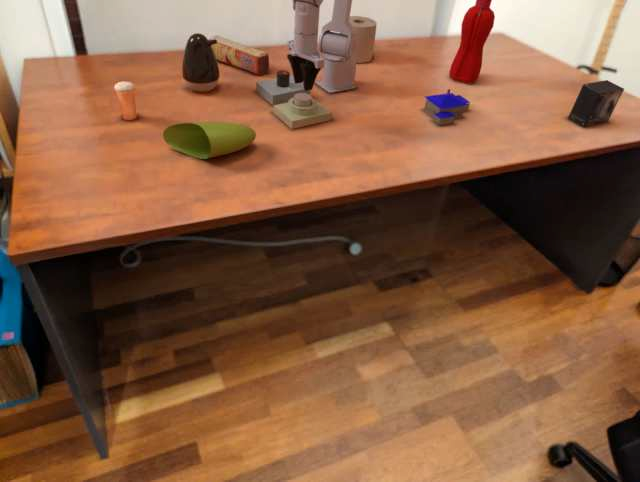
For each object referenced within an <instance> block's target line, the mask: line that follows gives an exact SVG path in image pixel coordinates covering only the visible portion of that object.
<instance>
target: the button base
mask: <svg viewBox="0 0 640 482" xmlns="http://www.w3.org/2000/svg"><path fill="white" fill-rule="evenodd" d="M272 106H273V107H272V109H273V110H272V111H273V112H272V113H273V114H274V115H275V116H276V117H277V118H278V119H280V120H281V121H282V122H283V123H284V124H286V125H287V126H288V128H290V129H291V130H293V129H298V128H303V127H305V126H306V127H307V126H312V125H315V124H319V123H324V122H328V121H331V119H332V112H331V111H330V110H329V109H327V108H326V107H325V106H323V105H322V104H321V103H319V102H318V101H316V100H315V99H314V98H313V97H312V100H311V106H308V107H299V106H296V105H294V97H293V98H291V99H290V100H288V103H283V104H278V105H272Z"/></svg>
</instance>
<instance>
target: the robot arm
mask: <svg viewBox="0 0 640 482" xmlns="http://www.w3.org/2000/svg"><path fill="white" fill-rule="evenodd" d="M323 2H324V0H292V10H293V11H294V28H293V29H294V30H293V32H294V33H293V40H287V41H286V49H287V50H288V51H289V53H288V54H287V55H286V58H287V60H288V62H289V64H290V67H291V71H292V75H293V76H294V81H295V83H296V84H297V83H303V86H304V90H305V91H307V90H310V91H311V90H313V88H314V85H315V84H316V85H317V86H319V87H320V88H321V89H323V90H324V91H326V92H327V93H328V94H333V93H338V92H343V91H348V90H354V89H356V85H355V80H356V71H357V63H356V62H355V59H354V57H353V55H354V53H355V49H356V36H357V31H356V30H355V29H354V27H353V26H352V25H351V24H350V22H349V18H350V16H351V11H352V6H353V5H352V4H353V0H333V8H332V14H331V15H332V16H331V20H329V21H328V22H326V23H325V24H323V25H322V27H321V30H320V31H321V32H320V35H319V23H320V11H321V10H320V9H321V5H322V4H323ZM340 33H344V34H346V35H344V34H340ZM321 70H322V77H321V80H318V81H316V79H317V76H318V75H319V73H320V71H321Z"/></svg>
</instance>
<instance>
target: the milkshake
mask: <svg viewBox="0 0 640 482" xmlns="http://www.w3.org/2000/svg"><path fill="white" fill-rule="evenodd" d="M113 87H114V88H113V89H114V91H115V94H116V97H117V100H118V104H119V108H120V111H121V114H122V115H121V116H122V118H123V120H126V121H134V120H136V119H137V118H138V116H137V106H136V93H135V92H136V91H135V84H134V83H132V74H129V78H128V81H124V80H123V81H119V82H117V83H115V84H114V86H113Z"/></svg>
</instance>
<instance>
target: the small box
mask: <svg viewBox="0 0 640 482" xmlns="http://www.w3.org/2000/svg"><path fill="white" fill-rule="evenodd" d="M624 91H625V88H624V87H622V86H619V85H617V84H615V83H613V82H612V81H609V80H607V79H605V80H600V81H594V82H588V83H583V84H582V86H581V87H580V91H579V92H578V94H577V97H576V99H575V102H574V103H573V106H572V108H571V110H570V112H569V114H568V116H567V119H569V121H572V122H573V123H576V124H577V125H578V126H580V127H582V128H588V127H592V126H597V125H601V124H606V123H608V122H609V121H610V119H611V117H612V115H613V113H614V111H615V109H616V106H617V105H618V103H619V100H620V98H621V97H622V95H623V92H624Z"/></svg>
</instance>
